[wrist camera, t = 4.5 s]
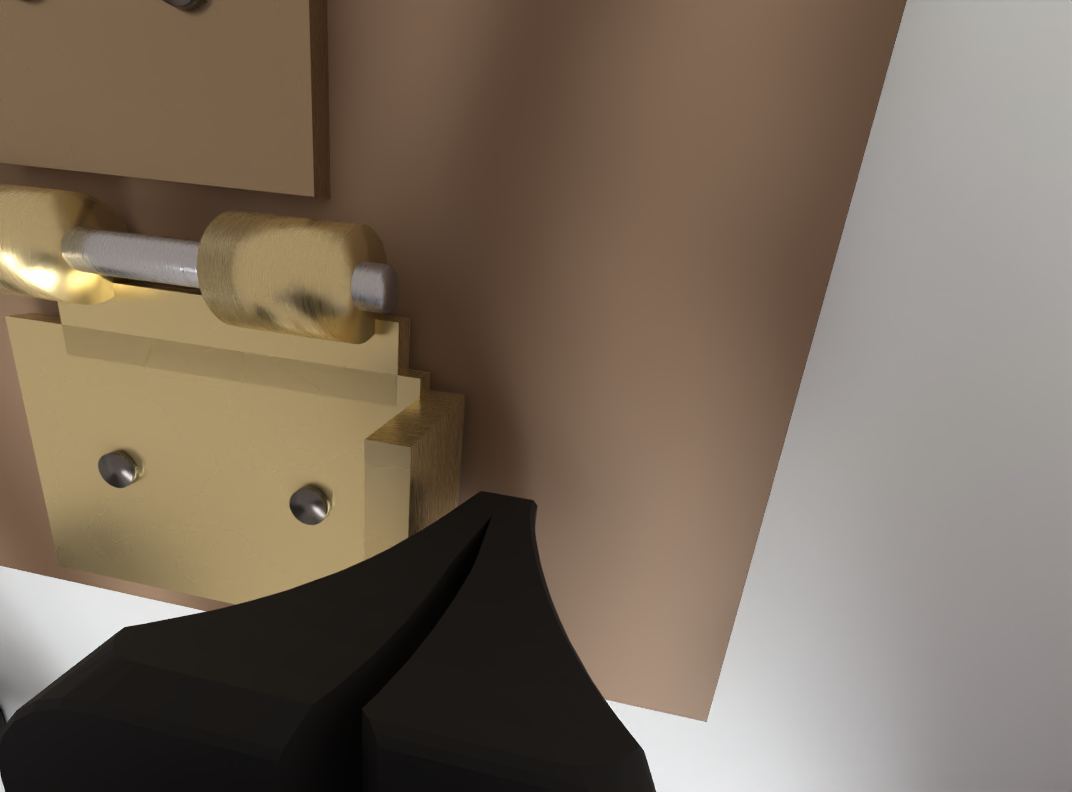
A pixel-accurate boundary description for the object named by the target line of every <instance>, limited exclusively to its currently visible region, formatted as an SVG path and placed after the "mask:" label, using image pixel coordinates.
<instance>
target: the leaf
mask: <svg viewBox="0 0 1072 792" xmlns="http://www.w3.org/2000/svg"><path fill="white" fill-rule="evenodd" d="M129 279H136V280H143V281H150V282H158V283H165V284H172V285H180V286H187V287H195V288H200V290H199V289H192V288H185V287H177V286H170V285H163V284H155V283H148V282H141V281H133V280H129ZM0 293H5V294H12V295H19V296H26V297H33V298H40V299H46V300H53V301H57V302H58V307H59V313H60V316H54V315H47V314H40V313H25V314H17V315H9V316H5V318H6V323H7V328H8V332H9V337H10V342H11V346H12V351H13V355H14V360H15V365H16V369H17V374H18V379H19V383H20V388H21V393H22V397H23V402H24V406H25V411H26V416H27V420H28V425H29V430H30V434H31V439H32V443H33V448H34V453H35V457H36V462H37V467H38V471H39V476H40V481H41V485H42V490H43V494H44V499H45V504H46V508H47V513H48V518H49V522H50V527H51V531H52V536H53V541H54V545H55V550H56V555H57V559H58V564H59V566H61V567H66V568H70V569H75V570H80V571H84V572H89V573H93V574H98V575H103V576H107V577H112V578H116V579H121V580H126V581H130V582H135V583H139V584H144V585H149V586H153V587H158V588H162V589H167V590H172V591H176V592H181V593H185V594H190V595H194V596H199V597H204V598H208V599H213V600H217V601H222V602H227V603H231V604H240V603H244V602H248V601H251V600H255V599H259V598H262V597H266V596H269V595H272V594H276V593H279V592H282V591H286V590H289V589H292V588H294V587H297V586H300V585H303V584H306V583H308V582H311V581H314V580H317V579H320V578H322V577H325V576H328V575H331V574H334V573H336V572H339V571H341V570H344V569H346V568H348V567H351V566H353V565H355V564H357V563H360V562H362V561H364V560H366V559H369V558H371V557H373V556H375V555H377V554H379V553H381V552H383V551H385V550H387V549H389V548H391V547H393V546H394V545H396V544H398V543H400V542H401V541H403V540H405V539H407V538H408V537H410V536H412V535H414V534H415V533H417V532H419V531H421V530H422V529H424V528H426V527H427V526H429V525H430V524H432V523H434V522H435V521H437V520H438V519H440V518H441V517H443V516H444V515H446V514H447V513H449V512H450V511H452V510H453V509H455V508H456V507H458V498H459V483H460V468H461V453H462V438H463V423H464V408H465V394H458V393H452V392H445V391H439V390H432V389H430V382H431V372H430V371H423V370H416V369H410V368H409V351H410V318H405V317H398V316H390V315H384V313H386V314H387V313H390V312H391V311H392V310H393V308H394V306H395V304H396V301H397V296H398V276H397V273H396V270H395V268H394V267H393V266H392V265H388V263H387V258H386V253H385V250H384V247H383V244H382V242H381V239H380V238H379V236H378V234H377V233H376V232H375V231H374V230H373V229H372V228H371V227H369V226H367V225H362V224H353V223H345V222H336V221H327V220H318V219H310V218H301V217H292V216H283V215H275V214H266V213H257V212H248V211H239V210H232V211H227V212H224V213H222V214H220V215H219V216H217V217H216V218H215V219H214V220H213V221H212V222H211V223H210V224H209V225H208V227H207V228H206V230H205V232H204V234H203V236H202V238H201V241H194V240H186V239H178V238H170V237H161V236H153V235H145V234H137V233H129V231H128V229H127V227H126V226H125V224H124V222H123V221H122V219H121V218H120V217H119V216H118V214H117V213H116V212H115V211H114V210H113V209H112V208H111V207H109V206H108V205H107V204H105V203H104V202H103V201H101V200H99V199H97V198H95V197H93V196H91V195H88V194H84V193H80V192H73V191H64V190H55V189H46V188H38V187H29V186H20V185H11V184H3V183H0Z"/></svg>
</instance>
